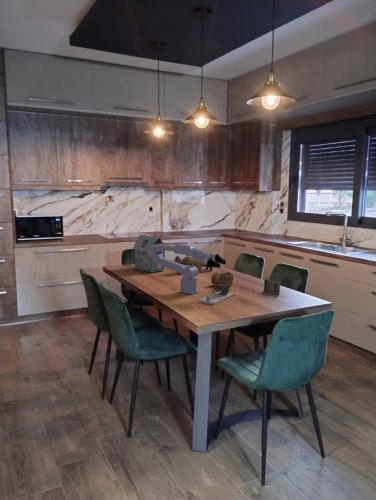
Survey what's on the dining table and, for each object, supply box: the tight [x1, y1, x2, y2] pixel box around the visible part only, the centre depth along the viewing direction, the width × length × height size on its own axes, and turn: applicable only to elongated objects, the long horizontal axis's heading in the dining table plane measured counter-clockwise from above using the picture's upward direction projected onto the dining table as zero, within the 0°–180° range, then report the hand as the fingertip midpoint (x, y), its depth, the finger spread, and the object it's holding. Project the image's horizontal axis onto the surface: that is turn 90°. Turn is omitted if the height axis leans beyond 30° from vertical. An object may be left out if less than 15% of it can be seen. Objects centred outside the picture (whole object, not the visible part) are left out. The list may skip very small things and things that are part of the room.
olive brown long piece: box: [173, 255, 214, 272], centre depth 300 cm, size 10×12×30 cm
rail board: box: [198, 290, 235, 306], centre depth 231 cm, size 24×10×4 cm, turn 146°
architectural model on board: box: [263, 276, 281, 296], centre depth 245 cm, size 11×3×10 cm, turn 29°
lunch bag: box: [133, 234, 166, 273], centre depth 303 cm, size 23×16×27 cm
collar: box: [216, 284, 229, 295], centre depth 235 cm, size 3×6×5 cm, turn 56°
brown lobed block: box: [210, 271, 234, 289], centre depth 256 cm, size 9×16×10 cm, turn 33°
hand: (222, 264), depth 231 cm, fingers open, 7 cm apart
